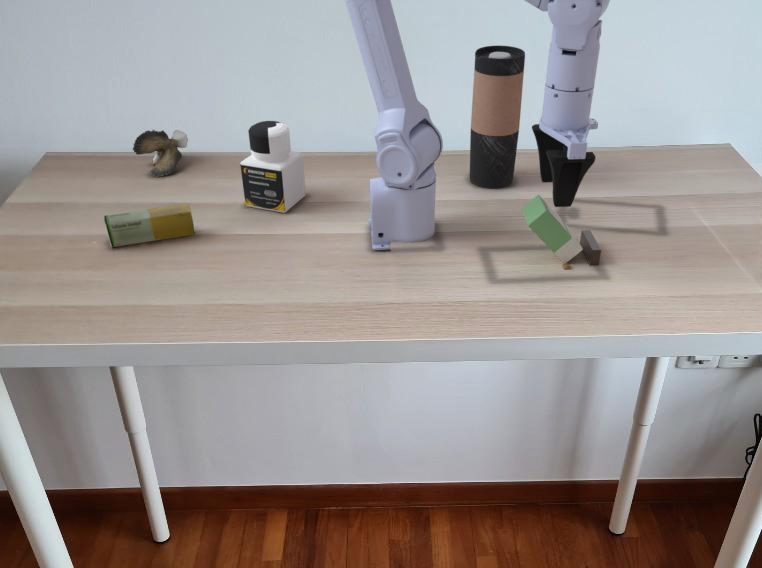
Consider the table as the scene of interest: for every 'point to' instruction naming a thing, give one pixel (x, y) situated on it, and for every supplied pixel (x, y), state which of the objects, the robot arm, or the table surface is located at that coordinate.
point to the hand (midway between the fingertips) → (555, 193)
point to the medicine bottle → (272, 169)
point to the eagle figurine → (161, 149)
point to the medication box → (149, 225)
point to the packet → (551, 229)
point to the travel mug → (495, 115)
